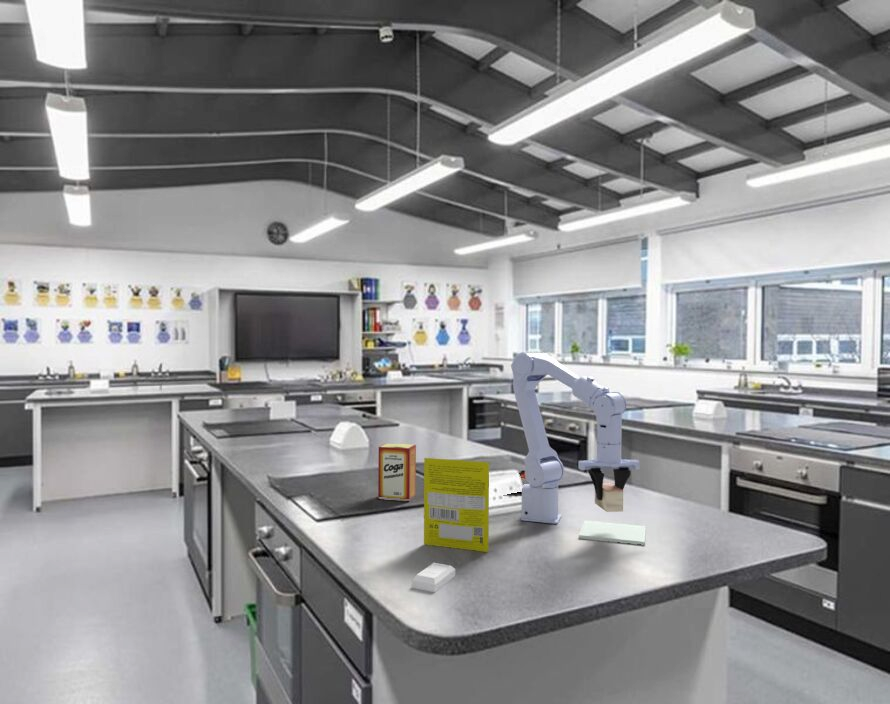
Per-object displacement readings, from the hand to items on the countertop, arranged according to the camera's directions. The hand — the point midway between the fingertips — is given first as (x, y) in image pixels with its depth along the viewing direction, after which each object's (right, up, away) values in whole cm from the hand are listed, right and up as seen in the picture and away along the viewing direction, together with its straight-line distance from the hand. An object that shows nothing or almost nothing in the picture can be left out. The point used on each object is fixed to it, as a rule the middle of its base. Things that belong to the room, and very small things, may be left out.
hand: (608, 499), depth 151 cm
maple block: (0, -2, 0) cm, 2 cm away
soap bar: (-42, -10, -29) cm, 52 cm away
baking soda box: (-54, -8, +35) cm, 65 cm away
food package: (-37, -9, -10) cm, 39 cm away
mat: (+2, -9, +2) cm, 9 cm away
